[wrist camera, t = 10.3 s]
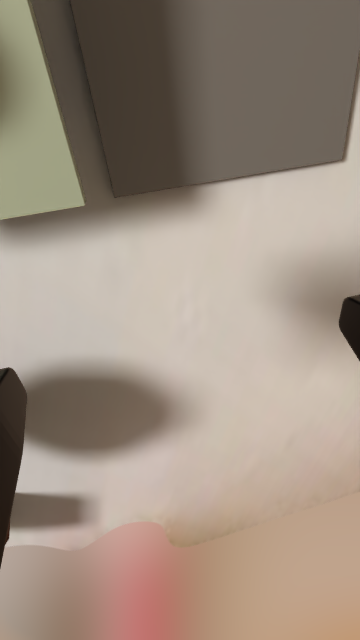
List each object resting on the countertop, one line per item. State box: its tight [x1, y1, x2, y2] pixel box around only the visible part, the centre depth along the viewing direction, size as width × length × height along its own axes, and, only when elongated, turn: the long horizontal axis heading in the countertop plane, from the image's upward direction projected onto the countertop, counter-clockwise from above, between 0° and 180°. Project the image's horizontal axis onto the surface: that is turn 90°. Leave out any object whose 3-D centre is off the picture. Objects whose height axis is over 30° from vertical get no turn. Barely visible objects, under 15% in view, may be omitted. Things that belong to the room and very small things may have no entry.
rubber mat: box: [70, 0, 360, 198], centre depth 14 cm, size 13×13×1 cm
